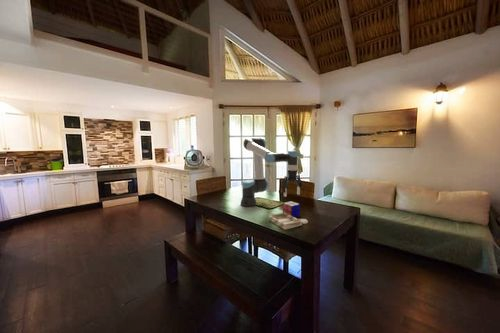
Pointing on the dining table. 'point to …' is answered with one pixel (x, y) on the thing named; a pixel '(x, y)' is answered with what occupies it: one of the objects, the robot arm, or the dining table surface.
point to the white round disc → (304, 221)
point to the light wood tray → (285, 220)
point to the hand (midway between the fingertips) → (291, 195)
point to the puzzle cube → (291, 208)
